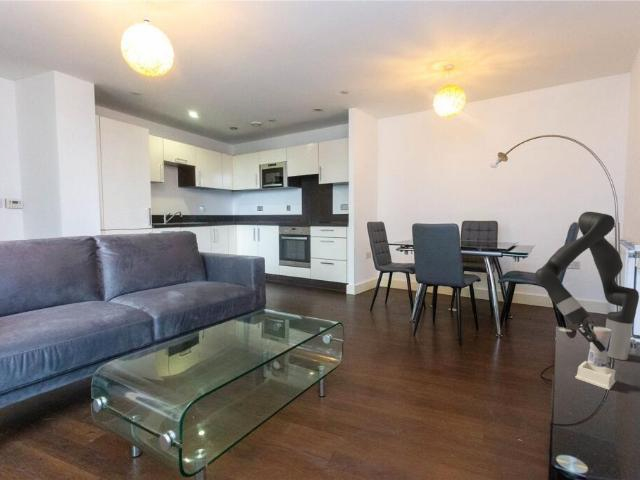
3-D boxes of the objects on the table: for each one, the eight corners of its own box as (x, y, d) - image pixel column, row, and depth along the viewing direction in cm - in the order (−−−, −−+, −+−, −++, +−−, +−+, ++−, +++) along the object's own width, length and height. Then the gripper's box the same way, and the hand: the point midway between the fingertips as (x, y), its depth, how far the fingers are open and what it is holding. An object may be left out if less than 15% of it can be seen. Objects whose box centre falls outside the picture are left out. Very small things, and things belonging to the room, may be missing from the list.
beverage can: (609, 369, 129) (615, 331, 127) (592, 366, 130) (598, 329, 128) (600, 362, 134) (605, 326, 133) (584, 360, 135) (589, 324, 134)
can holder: (582, 371, 140) (584, 360, 139) (615, 382, 132) (616, 370, 131) (575, 378, 133) (576, 366, 133) (609, 389, 125) (610, 377, 125)
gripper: (576, 308, 131) (611, 349, 123) (586, 303, 140) (619, 341, 132) (558, 317, 136) (591, 357, 128) (569, 312, 145) (600, 349, 137)
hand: (605, 348), depth 130 cm, fingers closed on beverage can, 5 cm apart
